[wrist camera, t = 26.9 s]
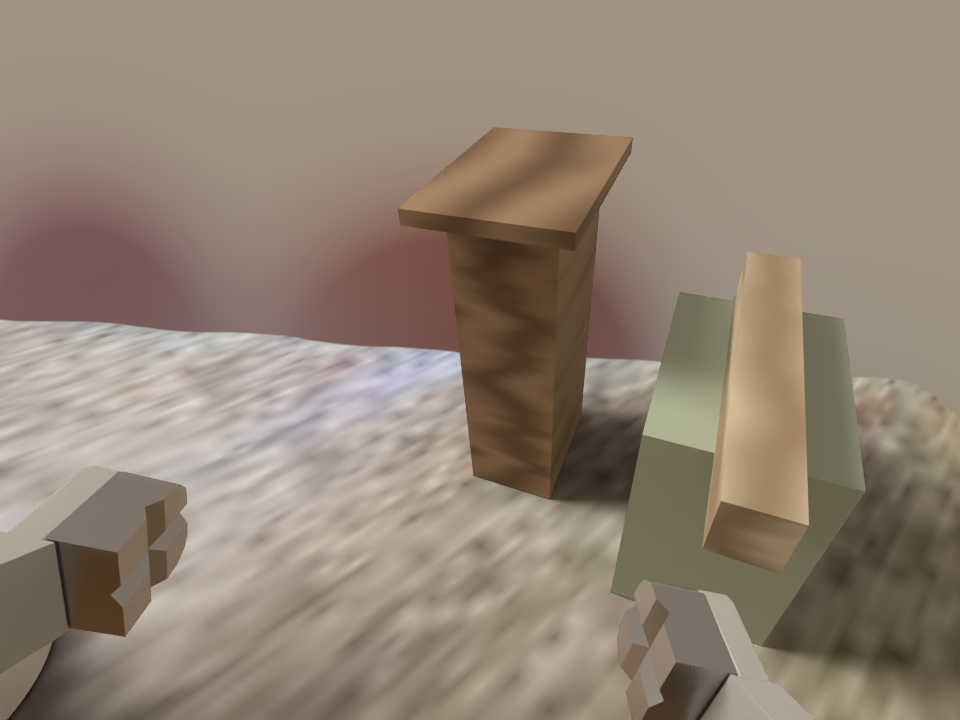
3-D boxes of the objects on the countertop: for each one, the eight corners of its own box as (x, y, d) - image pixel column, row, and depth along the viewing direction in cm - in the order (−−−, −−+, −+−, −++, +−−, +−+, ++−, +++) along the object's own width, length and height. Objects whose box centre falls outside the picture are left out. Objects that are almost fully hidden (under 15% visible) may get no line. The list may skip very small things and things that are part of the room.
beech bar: (701, 549, 23) (720, 500, 21) (734, 297, 36) (747, 251, 34) (779, 573, 22) (808, 525, 20) (783, 305, 35) (800, 259, 33)
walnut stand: (446, 492, 46) (397, 208, 29) (504, 387, 56) (493, 127, 39) (558, 529, 43) (575, 232, 26) (599, 410, 52) (632, 137, 36)
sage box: (610, 591, 39) (642, 434, 28) (645, 450, 48) (679, 292, 37) (761, 646, 35) (865, 491, 24) (767, 482, 45) (843, 319, 34)
